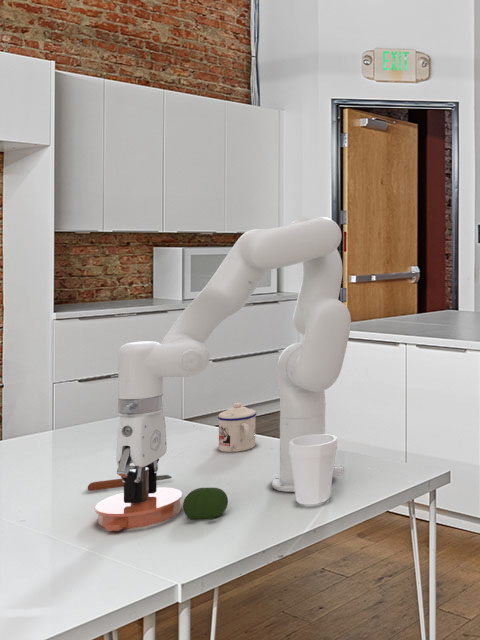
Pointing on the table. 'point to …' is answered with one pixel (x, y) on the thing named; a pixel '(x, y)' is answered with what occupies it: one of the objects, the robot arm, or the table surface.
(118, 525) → the pot
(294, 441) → the foam cup
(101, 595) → the table surface
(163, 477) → the kitchen knife
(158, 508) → the lid
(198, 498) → the avocado
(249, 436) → the teacup with lid
